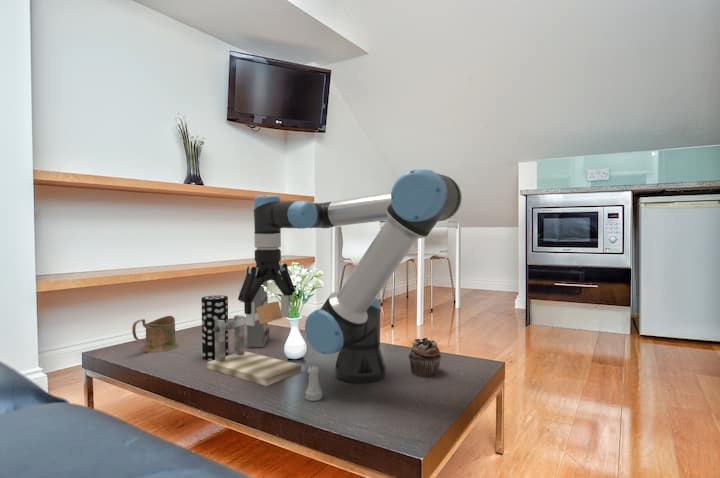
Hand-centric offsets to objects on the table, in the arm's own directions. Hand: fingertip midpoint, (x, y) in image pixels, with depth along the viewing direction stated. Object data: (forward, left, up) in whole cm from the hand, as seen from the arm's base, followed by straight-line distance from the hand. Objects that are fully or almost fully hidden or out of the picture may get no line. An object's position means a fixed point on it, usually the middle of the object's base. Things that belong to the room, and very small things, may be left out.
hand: (268, 320), depth 124 cm
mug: (+53, +5, -16) cm, 55 cm away
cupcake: (-37, -27, -16) cm, 49 cm away
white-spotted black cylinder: (+28, -2, -16) cm, 32 cm away
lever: (+7, 0, -3) cm, 8 cm away
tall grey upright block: (+29, -22, -16) cm, 40 cm away
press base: (+7, 0, -16) cm, 17 cm away
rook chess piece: (-22, +6, -16) cm, 28 cm away
